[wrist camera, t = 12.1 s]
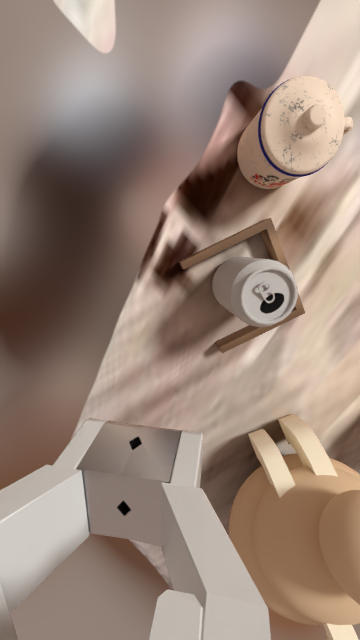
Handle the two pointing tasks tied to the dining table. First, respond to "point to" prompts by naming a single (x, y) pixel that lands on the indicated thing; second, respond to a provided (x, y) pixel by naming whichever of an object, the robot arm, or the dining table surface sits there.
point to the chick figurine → (301, 531)
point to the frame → (275, 254)
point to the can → (255, 290)
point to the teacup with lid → (292, 133)
